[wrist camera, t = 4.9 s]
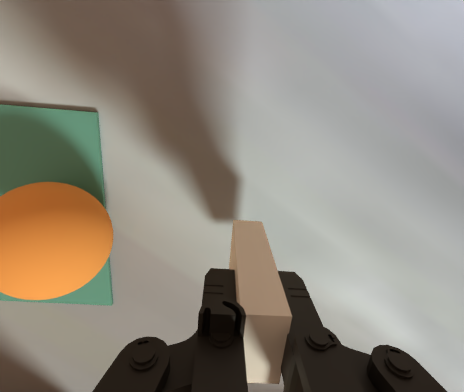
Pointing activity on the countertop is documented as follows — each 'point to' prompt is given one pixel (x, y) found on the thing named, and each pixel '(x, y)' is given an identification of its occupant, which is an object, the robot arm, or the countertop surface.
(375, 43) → the countertop surface
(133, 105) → the countertop surface
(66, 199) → the ball
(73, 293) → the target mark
